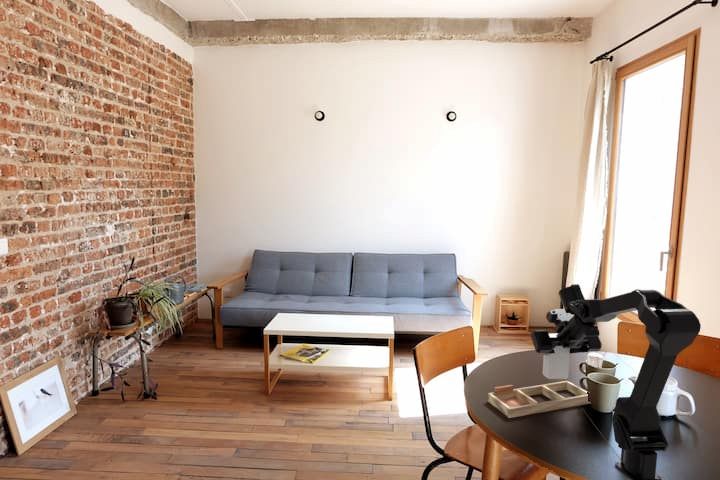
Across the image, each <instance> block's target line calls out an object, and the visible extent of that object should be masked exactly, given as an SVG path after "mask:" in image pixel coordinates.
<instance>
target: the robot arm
mask: <svg viewBox="0 0 720 480" xmlns="http://www.w3.org/2000/svg"><path fill="white" fill-rule="evenodd" d="M558 296H559V298H560V301H561V304H562V307H563V308H554V309H551V310H549V311H548V312H547V313H546V315H545V318H546V320H547V321H548V323H549V324H554V326H555V327H554V332H555V334H556V333H558V334H557V335H556V337H552V338H550V337H549V334H550V333H549V332H548V330H546V329H534V330H533V331H532V332H531V333H530V337H531V341H532V344H533V347H534V350H535V352H536V353H537V354H542V355H543V356H544V355H548V354H553V353H555V352H554V348H555V346H562V347H563V348H570V355H571V354H572V355H574V354H581V353H588V352H589V353H594V352H599V351H600V350H601V349H602V346H603V344H602V341H601V339H600V337H599V336H600V329H599V326H598V323H608V322H610V321H612V320H614V319H616V318H617V316H618V315H621V314H626V313H630V312H636V311H637V316H638V317H637V318H638V320H639V321H640V322H641V323H642V324H643V325H644V326H645V331H644V332H645V335H646V337H647V340H648V343H649V345H648V348H647V351H646V353H645V356H644V358H643V362H642V364H641V366H640V369H639V372H638V375H637V378H636V381H635V383H634V386H633V388H632V390H631V391H632V392H631V393H630V396H622V397H621V396H620V397H617V399H616V401H615V405H614V408H613V409H612V412H613V414H612V419H611V422H612V428H613V435H614V442H616V444H617V445H618V448H619V449H621V451H620V452H621V453H620V461H617V462H615V463H614V465H615V467H617V468H618V469H619V470H620V471H621V472H622V473H624V474H625V476H627V477H628V478H629V479H630V480H662V476H660V475H659V474H658V473H657V461H658V453H657V452H660V451H661V452H666V451H667V449H668V447H669V443H668V440H667V437H666V436H665V433H664V432H663V430H662V428H661V425H660V422H661V416H660V414H659V412H658V409H657V407H658V405H659V401H660V398H661V397H662V395H663V392H664V389H665V386H666V385H667V382H668V379H669V377H670V374H671V372H672V370H673V367H674V365H675V362H676V360H677V358H678V355H679V354H680V353H681V352H683V351H684V350H685V349H687V348H689V347H690V346H691V345H692V344H693V343H694V341H695V340H696V338H697V336H699V334H700V331H701V328H702V327H701V321H700V319H699V318H698V317H697V315H696V313H694V311H692V310H690V309H689V308H687V307H686V306H685V305H683V304H681V303H680V302H677V301H675V300H673V299H671V298H670V297H667V296H665V295H664V294H662V293H661V292H660V291H659V290H656V289H653V288H652V289H651V288H650V289H649V288H648V289H644V288H643V289H642V288H640V289H639V288H638V289H634V290H632V291H630V292H629V291H628V292H626V293H623V294H619V295H614V296H611V297H607V298H597V299H596V298H594V299H592V298H591V299H590V298H589V299H585V298H586V297H584V295H583V292H582V288H581V286H580V284H578V283H575V284H573V283H572V284H571V285H570V286H567V287H564V288H562V289H560V290H559V291H558ZM653 309H654V310H653Z"/></svg>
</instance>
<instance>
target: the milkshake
mask: <svg viewBox="0 0 720 480" xmlns="http://www.w3.org/2000/svg"><path fill="white" fill-rule="evenodd" d="M606 353H607V351H605V352H604V354H603V355H602V354H600V353H597V352H589V353H588V354H587V365H588V364H589V365H592V366H594V367H599V368H601V369H602V366H603V361H604V357H605V355H606Z"/></svg>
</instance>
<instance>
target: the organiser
mask: <svg viewBox="0 0 720 480" xmlns="http://www.w3.org/2000/svg"><path fill="white" fill-rule="evenodd" d="M562 391H568V392H570V393H572V394H573V395H575V396H570V397H564V396H563V395H561V394H559V393H558V392H562ZM587 392H588V391H587V390H585V389H583V388H581V387H580V386H578V385H576V384H574V383H572V382H570V381H569V380H564V381H556V382H552V383H544V384H538V385H531V386H525V387H524V386H523V387H519V388H514V385H513V384H507V385H502V386H501V385H500V386H494V388H493V392H488V393H487V402H488V403H489V404H491V405H492V406H493V407H494V408H495V409H497V410H498V411H500V412H501V414H503V415H505V416H506V417H507V418H508V419H511V418H517V417H523V416H529V415H533V414H539V413H545V412H550V411H555V410H562V409H567V408H574V407H578V406H585V405H588V404H592V403H591V402H589V401H588V394H587ZM537 395H543V396H545V397H547V398H548V399H550V400H546V401H541V402H538V401H537V400H536V399H534V398H532V397H531V396H537Z"/></svg>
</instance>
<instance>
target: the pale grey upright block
mask: <svg viewBox="0 0 720 480" xmlns="http://www.w3.org/2000/svg"><path fill="white" fill-rule="evenodd" d="M548 334H549V337H550V338H552V337H556V335H557V334H558V333H556V332H555V333H548ZM554 352H555V353H553V354H548V355H544V354H543V359H542V362H543V363H542V375H543V376H544V377H545V378H546V379H548V380H562V379H563V380H564V379H568V378H569V371H570V368H569V367H570V355H571V354H570V348H563V347H562V346H555V348H554Z"/></svg>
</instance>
